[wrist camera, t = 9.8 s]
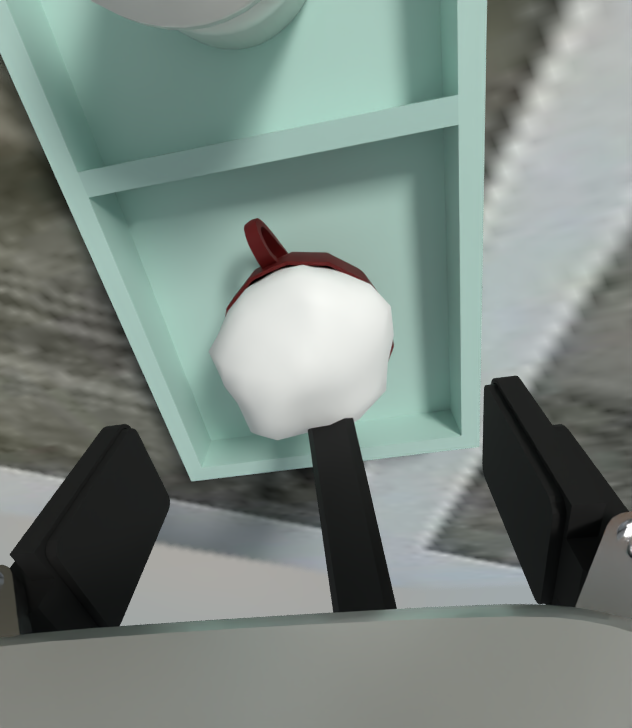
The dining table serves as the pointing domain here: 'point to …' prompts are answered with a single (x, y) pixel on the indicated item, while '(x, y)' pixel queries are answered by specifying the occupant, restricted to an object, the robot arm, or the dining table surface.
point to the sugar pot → (212, 18)
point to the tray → (274, 194)
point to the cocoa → (315, 391)
